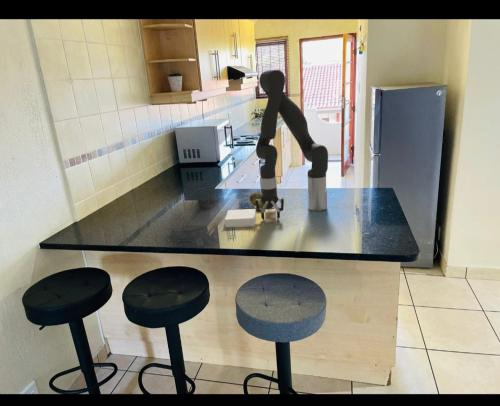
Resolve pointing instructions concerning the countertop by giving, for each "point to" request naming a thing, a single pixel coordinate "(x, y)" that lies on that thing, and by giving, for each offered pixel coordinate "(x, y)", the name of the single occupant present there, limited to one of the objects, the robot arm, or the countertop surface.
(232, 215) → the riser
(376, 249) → the countertop surface
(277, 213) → the robot arm
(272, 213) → the birch block
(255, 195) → the potato
